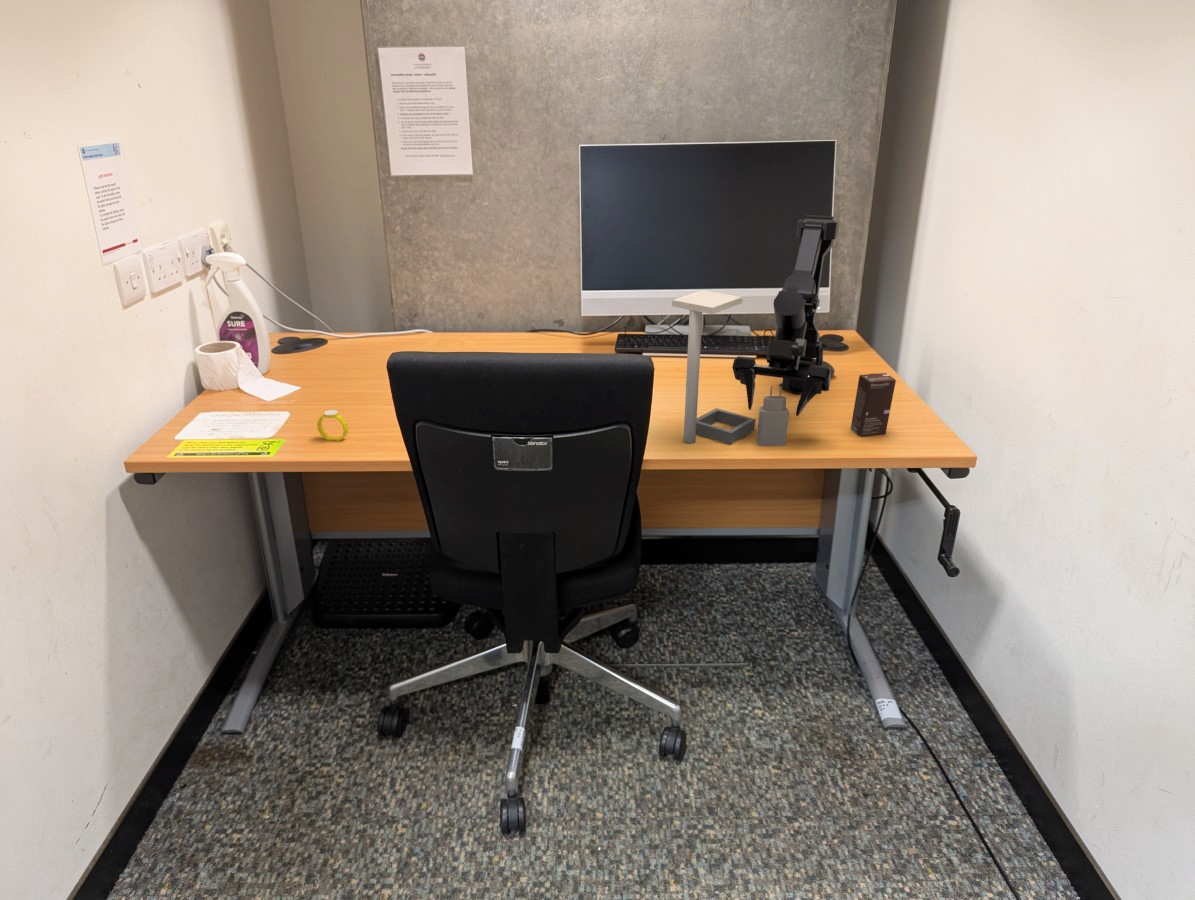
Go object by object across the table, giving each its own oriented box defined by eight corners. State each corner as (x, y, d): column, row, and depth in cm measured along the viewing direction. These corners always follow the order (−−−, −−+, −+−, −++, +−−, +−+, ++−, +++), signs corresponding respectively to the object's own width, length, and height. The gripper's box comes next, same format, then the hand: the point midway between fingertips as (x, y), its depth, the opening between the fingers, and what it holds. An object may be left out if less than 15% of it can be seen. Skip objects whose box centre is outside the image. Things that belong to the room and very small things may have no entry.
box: (861, 437, 163) (869, 381, 158) (849, 429, 167) (857, 374, 162) (888, 434, 164) (897, 379, 159) (876, 426, 168) (884, 371, 163)
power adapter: (786, 446, 159) (792, 388, 154) (758, 446, 159) (763, 388, 154) (782, 439, 162) (788, 383, 157) (755, 439, 162) (760, 383, 157)
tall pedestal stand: (706, 416, 173) (714, 286, 162) (754, 430, 167) (766, 295, 155) (666, 437, 163) (671, 300, 151) (716, 453, 156) (725, 310, 145)
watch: (350, 439, 163) (349, 411, 161) (344, 444, 161) (342, 417, 158) (323, 434, 164) (321, 407, 162) (316, 440, 162) (314, 412, 159)
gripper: (738, 316, 158) (720, 387, 153) (836, 326, 151) (821, 400, 146) (743, 344, 168) (727, 412, 163) (836, 354, 161) (822, 425, 156)
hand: (772, 412), depth 157 cm, fingers open, 9 cm apart
